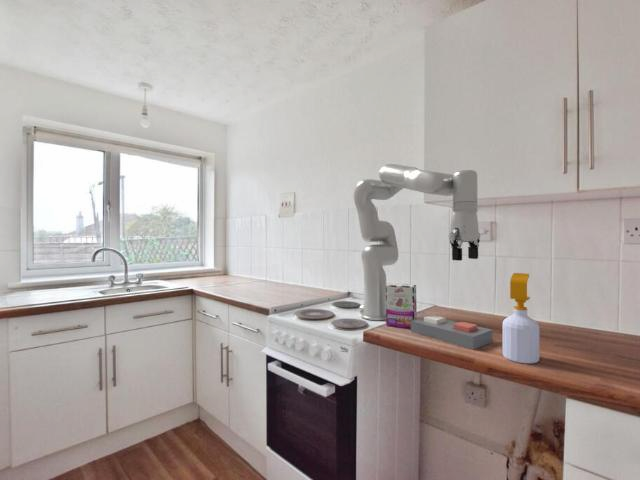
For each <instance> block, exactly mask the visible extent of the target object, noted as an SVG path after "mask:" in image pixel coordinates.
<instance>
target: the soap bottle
mask: <svg viewBox="0 0 640 480" xmlns="http://www.w3.org/2000/svg"><path fill="white" fill-rule="evenodd" d="M529 278H530V273H522V272H520V273H519V272H513V274H512V276H510V281H509V282H510V283H509V291H510V293H509V295H510V296H509V297H510V299H511V300H514V301H515V303H516V305H514V306H513V314H512V315H509V316H507V317H506V318H504V319H503V321H502V356H503V357H504V358H505V359H507V360H509V361H511V362H515V363H518V364H519V363H520V364H527V365H528V364H536V363H538V362H539V361H540V325H539V323H538V322H537V321H535V319H533V318H532V317H530V316H529V315H528V307H526V306H525V303H526V302H527V301H529V300H530V299H531V297H530V296H528V280H529Z"/></svg>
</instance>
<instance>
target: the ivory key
mask: <svg viewBox="0 0 640 480" xmlns="http://www.w3.org/2000/svg"><path fill="white" fill-rule="evenodd" d="M423 318H424V322H428V323H432V324H436V325H438V324H441V323H445V319H446V317H443V316H439V315H435V314H431V315H427V316H424V317H423Z"/></svg>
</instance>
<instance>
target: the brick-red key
mask: <svg viewBox="0 0 640 480" xmlns="http://www.w3.org/2000/svg"><path fill="white" fill-rule="evenodd" d="M458 322H459V321H458ZM478 327H479V326H478V324H475V323H470V322H465V321H460V322H459V323H456V324H454V329H456V330H460V331H464V332H468V333H470V332H473V331H476V330H478Z"/></svg>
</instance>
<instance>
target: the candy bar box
mask: <svg viewBox="0 0 640 480" xmlns="http://www.w3.org/2000/svg"><path fill="white" fill-rule="evenodd" d="M417 311H418V310H417V284H408V283H407V284H406V283H405V284H404V283H403V284H402V283H388V284H387V283H386V320H385V322H386V323H385V324H386V325H388V326H387V327H392V326H394V327H393V328H401V327H402V329H410V330H411V321H412V320H416V319H418V315H417V314H418V313H417ZM386 325H385V326H386Z"/></svg>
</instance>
